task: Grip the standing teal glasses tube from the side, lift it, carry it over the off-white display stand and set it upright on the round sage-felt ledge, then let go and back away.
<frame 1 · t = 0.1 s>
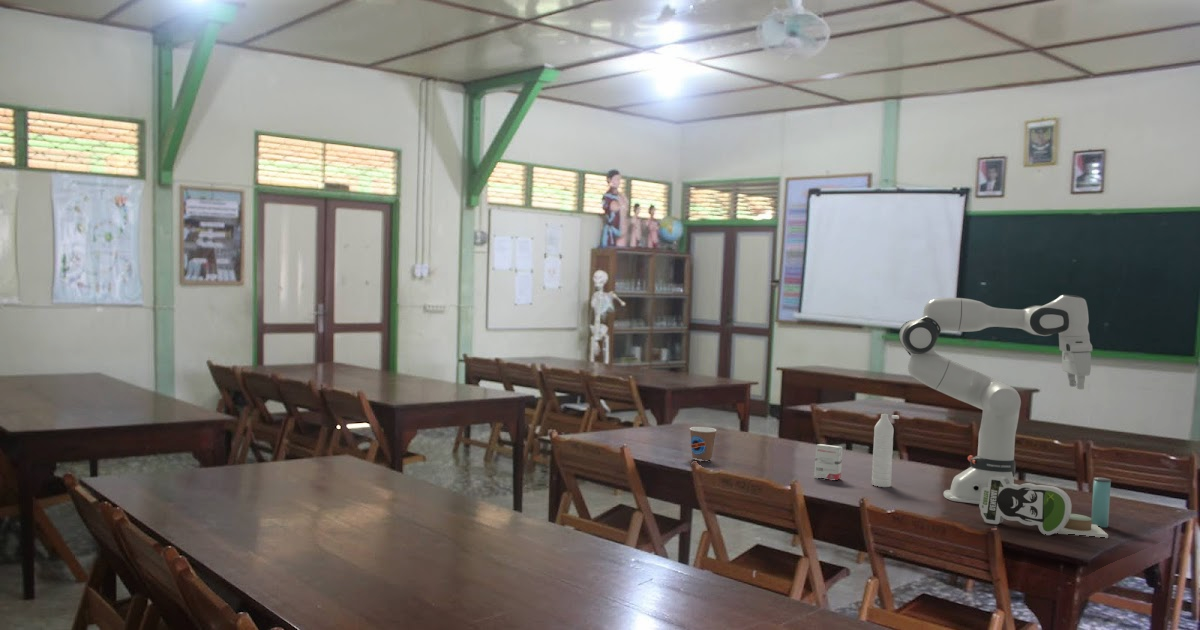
hand: (1076, 387, 303), 39 cm above the table, tool pointing down, fingers open, 8 cm apart
display stand: (1075, 530, 274), on the table
cutout: (1022, 529, 274), on the table
glasses tube: (1099, 525, 282), on the table
coffee cup: (701, 460, 362), on the table
ink box: (827, 479, 336), on the table
water bottle: (883, 486, 327), on the table
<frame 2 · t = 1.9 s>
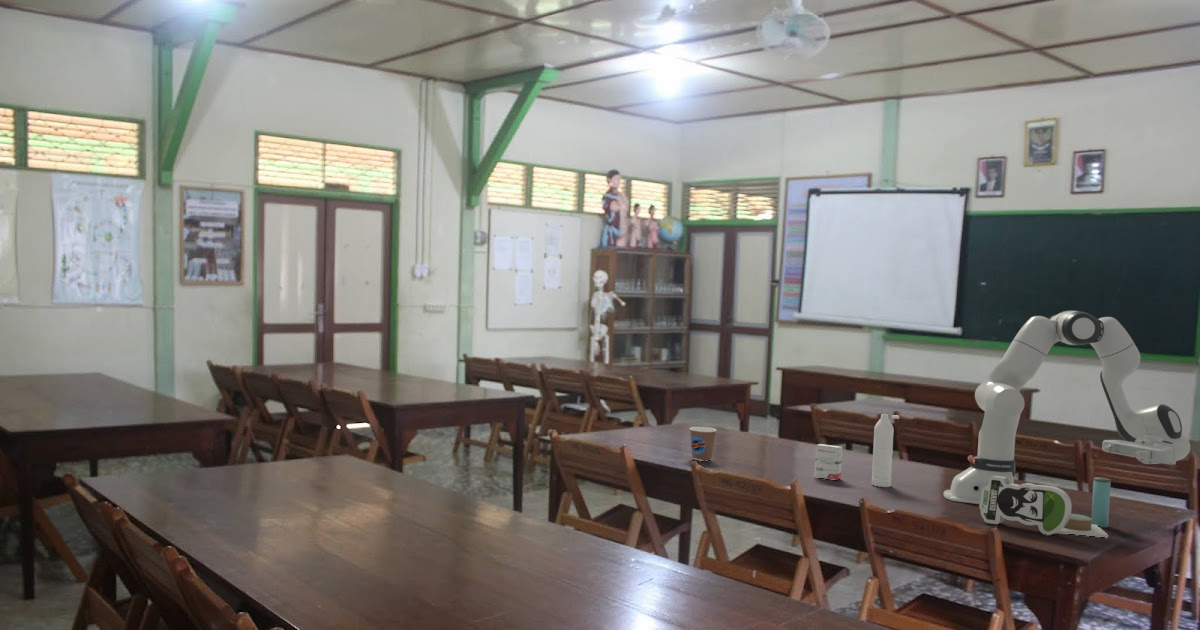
hand: (1121, 451, 289), 21 cm above the table, tool horizontal, fingers open, 8 cm apart
nothing on the table moved.
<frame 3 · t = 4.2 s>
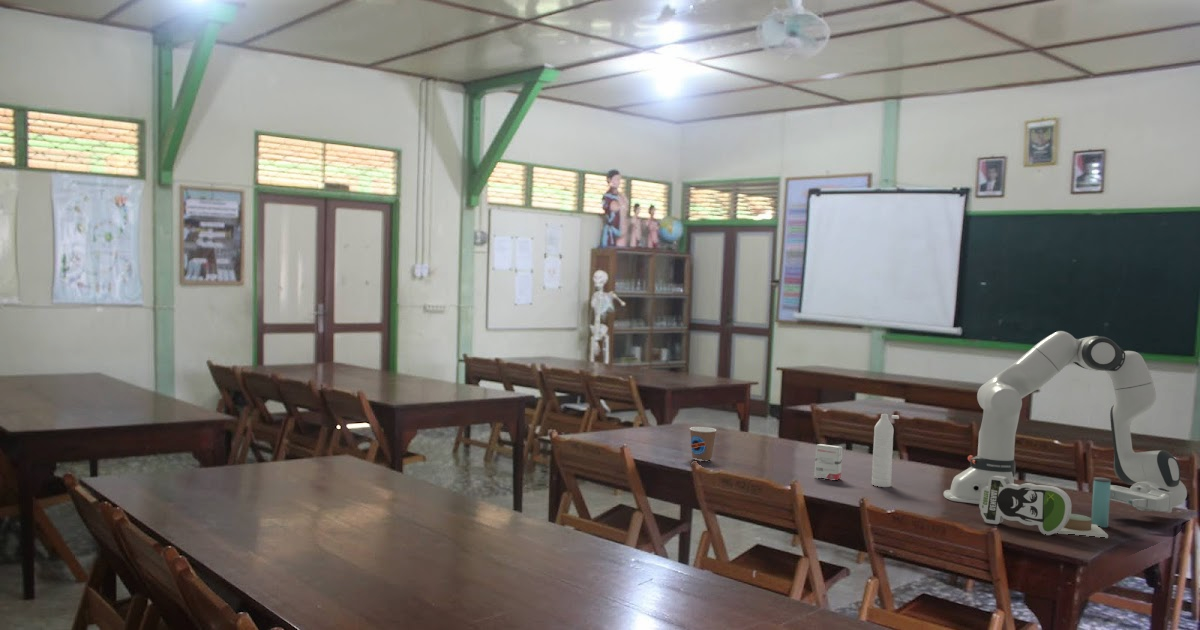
hand: (1116, 499, 285), 7 cm above the table, tool horizontal, fingers open, 8 cm apart
nothing on the table moved.
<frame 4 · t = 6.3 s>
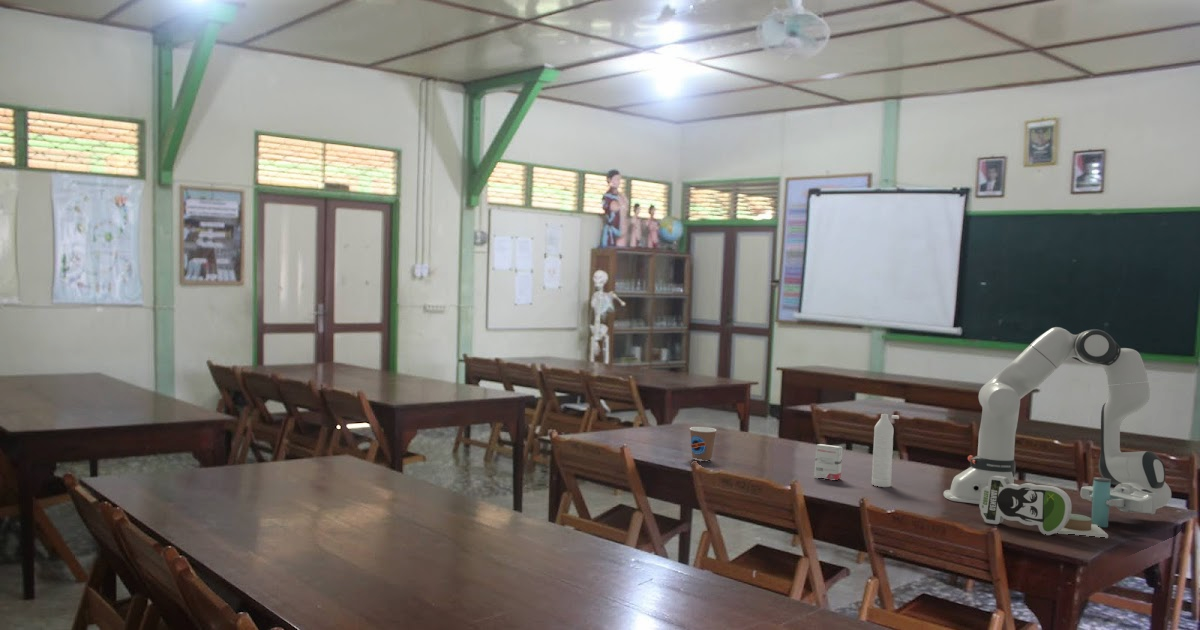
hand: (1099, 500, 281), 8 cm above the table, tool horizontal, fingers closed on glasses tube, 4 cm apart
glasses tube: (1099, 525, 282), on the table, touching gripper
everything else where it was.
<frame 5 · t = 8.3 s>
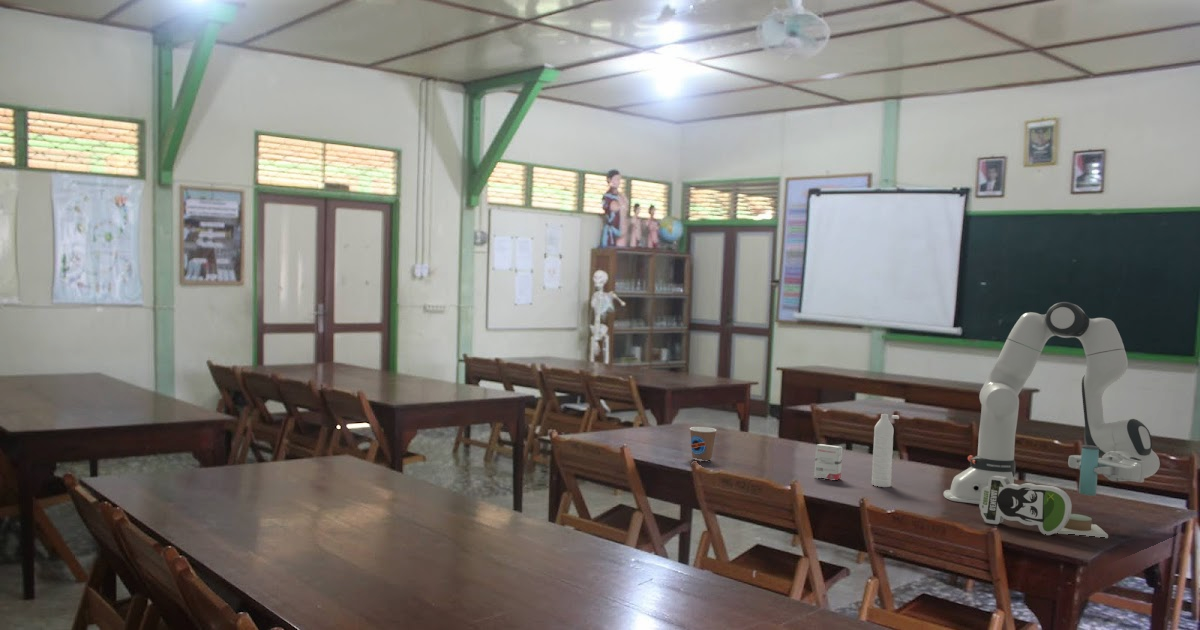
hand: (1087, 468, 276), 18 cm above the table, tool horizontal, fingers closed on glasses tube, 4 cm apart
glasses tube: (1087, 493, 277), point 10 cm above the table, touching gripper
everything else where it was.
when the fingers open (13 cm above the table, at t = 10.2 s): glasses tube drops 1 cm, resting on display stand.
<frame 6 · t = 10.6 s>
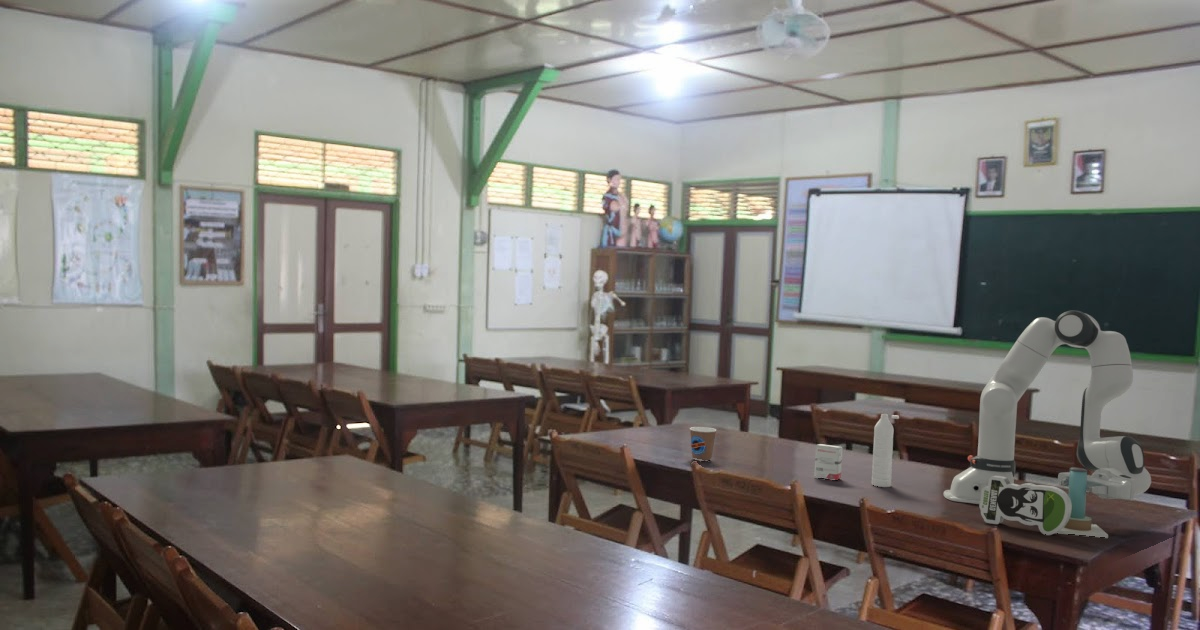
hand: (1076, 486, 273), 13 cm above the table, tool horizontal, fingers open, 8 cm apart
glasses tube: (1076, 516, 274), point 4 cm above the table, touching display stand
everything else where it was.
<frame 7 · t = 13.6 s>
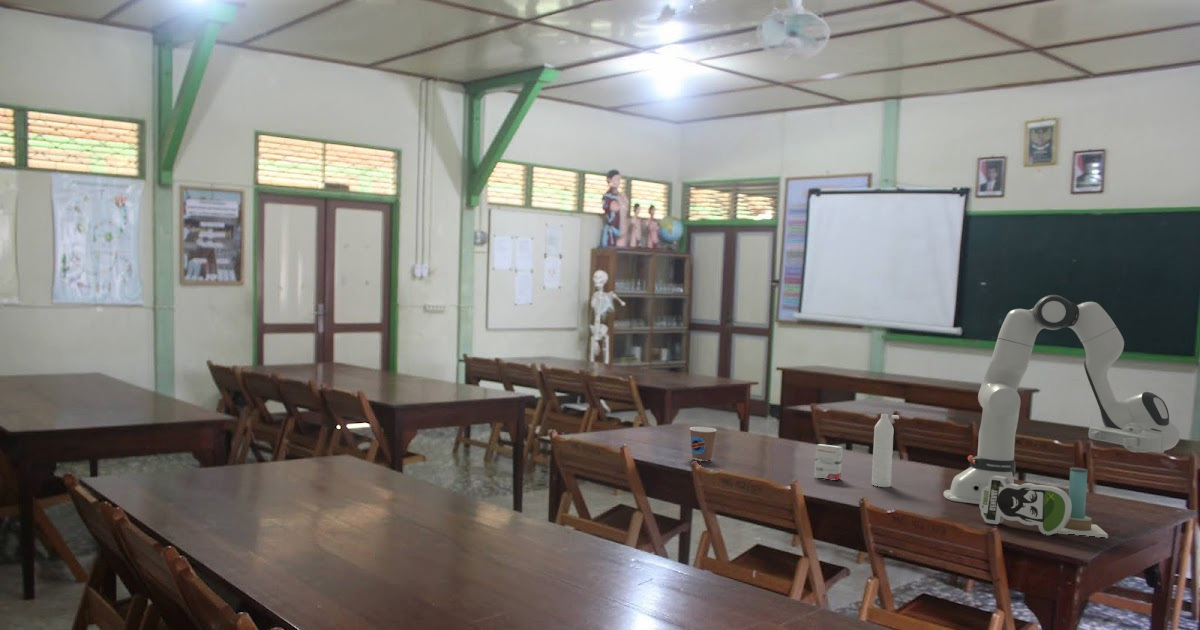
hand: (1107, 438, 279), 26 cm above the table, tool horizontal, fingers open, 8 cm apart
nothing on the table moved.
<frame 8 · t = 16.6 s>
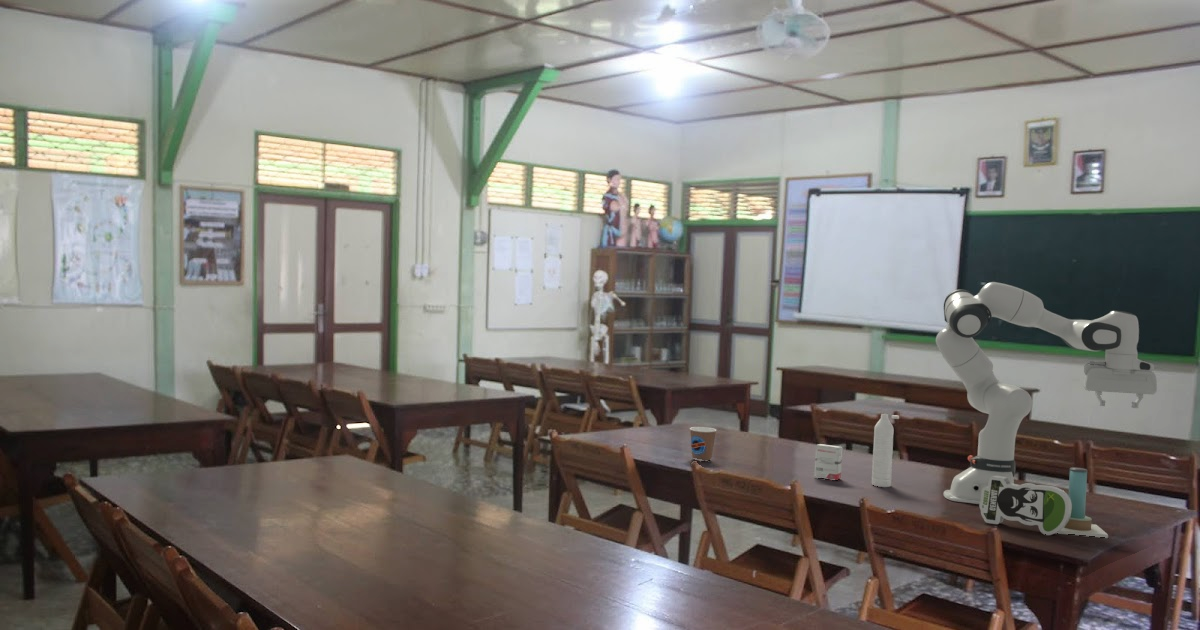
hand: (1118, 406, 295), 34 cm above the table, tool pointing down, fingers open, 8 cm apart
nothing on the table moved.
at the end: glasses tube 0.1 cm from the display stand (horizontally); glasses tube point 4.0 cm above the table; glasses tube tilted 0° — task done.
